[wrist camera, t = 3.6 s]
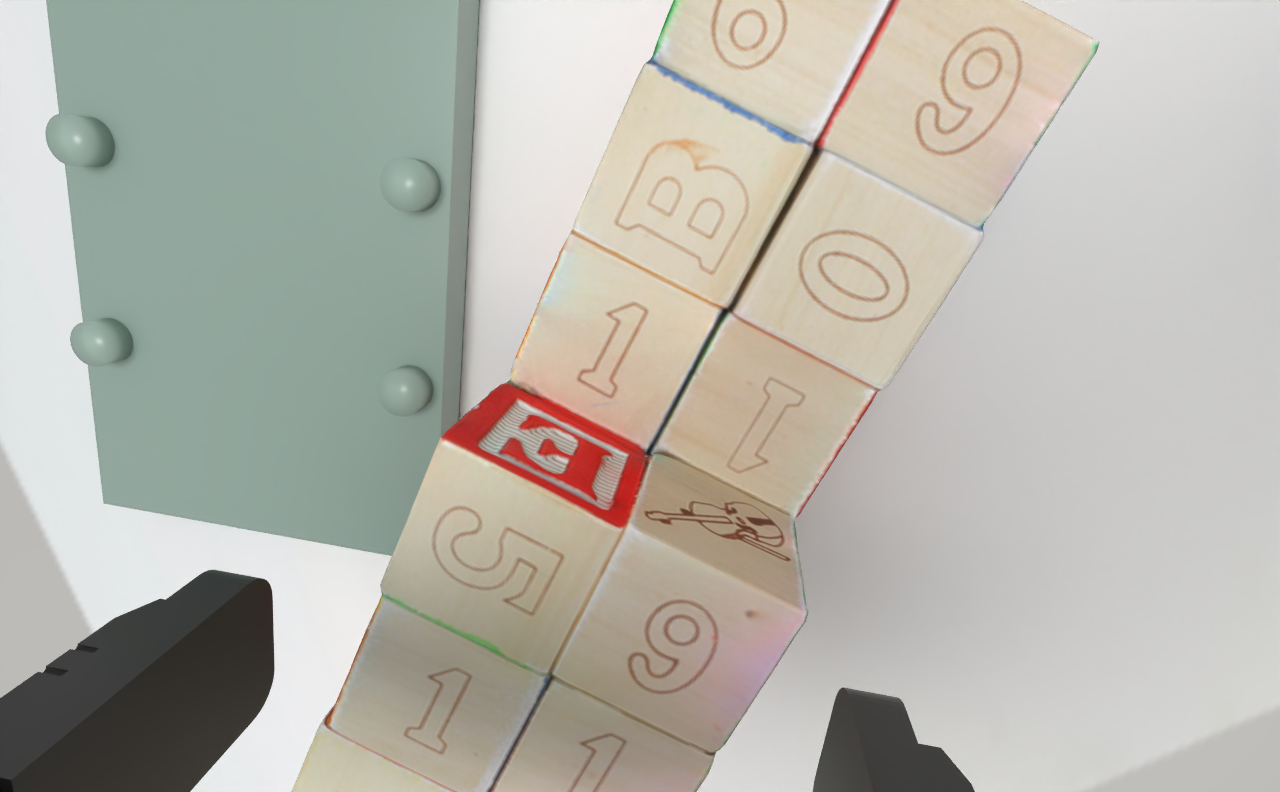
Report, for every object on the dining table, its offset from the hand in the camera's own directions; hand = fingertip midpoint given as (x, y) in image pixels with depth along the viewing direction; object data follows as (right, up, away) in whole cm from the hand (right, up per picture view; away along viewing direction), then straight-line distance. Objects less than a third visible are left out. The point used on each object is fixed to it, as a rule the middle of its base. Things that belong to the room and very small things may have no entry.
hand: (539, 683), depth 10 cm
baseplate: (-10, +11, +12) cm, 19 cm away
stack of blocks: (+2, +4, +13) cm, 14 cm away
